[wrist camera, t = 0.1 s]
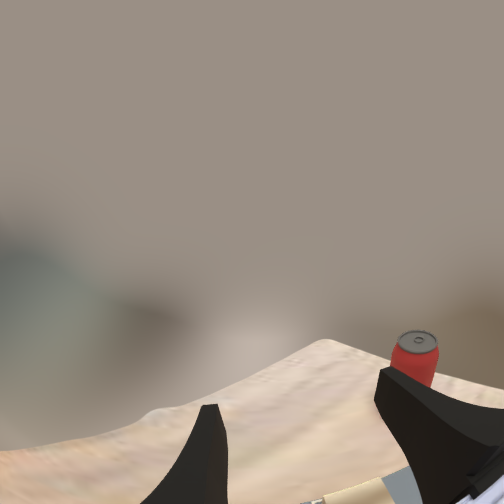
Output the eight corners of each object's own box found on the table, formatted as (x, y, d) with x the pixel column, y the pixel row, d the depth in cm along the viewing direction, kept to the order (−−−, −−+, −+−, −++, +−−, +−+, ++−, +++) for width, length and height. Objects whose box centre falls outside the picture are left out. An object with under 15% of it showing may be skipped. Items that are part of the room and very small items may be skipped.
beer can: (429, 400, 30) (447, 332, 27) (412, 428, 26) (433, 359, 24) (394, 389, 35) (405, 324, 33) (373, 414, 31) (385, 346, 29)
